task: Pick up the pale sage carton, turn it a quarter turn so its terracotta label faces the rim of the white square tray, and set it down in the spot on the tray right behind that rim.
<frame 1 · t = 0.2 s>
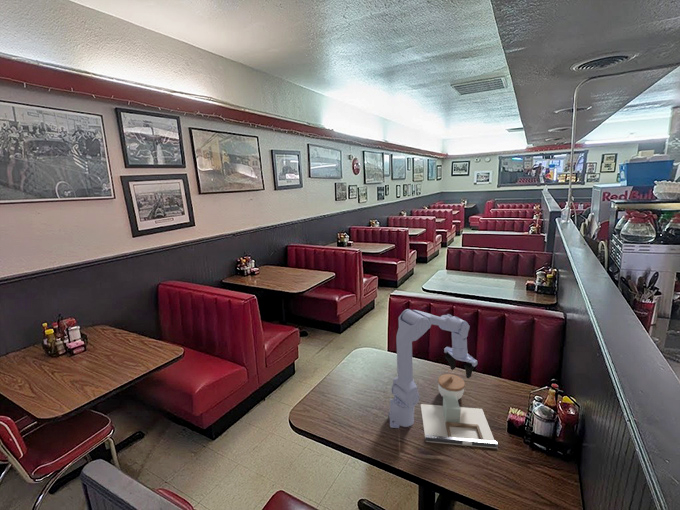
hand: (460, 372, 141), 10 cm above the table, tool pointing down, fingers open, 7 cm apart
lidded jar: (450, 397, 142), on the table
white square tray: (455, 425, 125), on the table
carton: (450, 415, 130), point 1 cm above the table, touching white square tray
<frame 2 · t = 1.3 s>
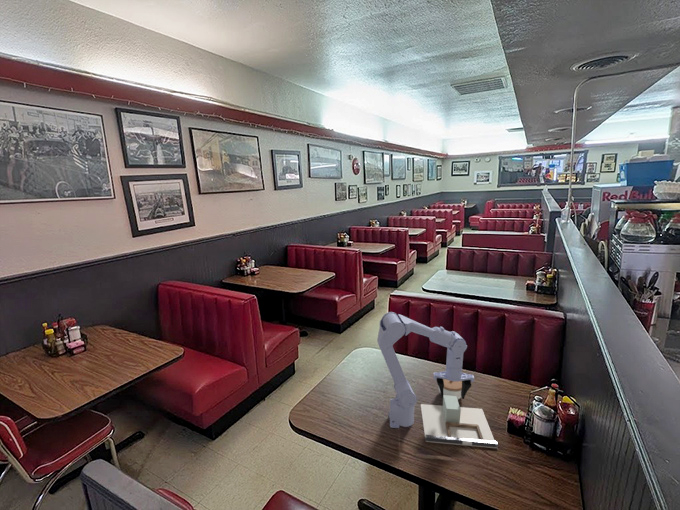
hand: (452, 396, 128), 9 cm above the table, tool pointing down, fingers open, 7 cm apart
nothing on the table moved.
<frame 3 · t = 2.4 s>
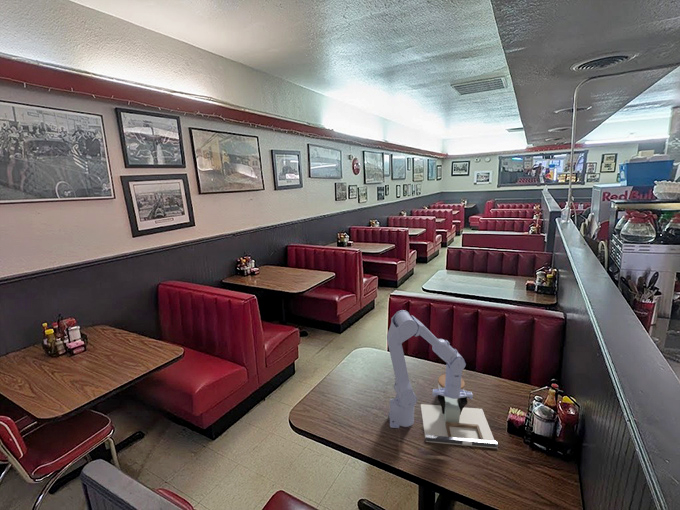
hand: (450, 412, 129), 2 cm above the table, tool pointing down, fingers closed on carton, 5 cm apart
carton: (450, 415, 130), point 1 cm above the table, touching gripper, white square tray
everything else where it was.
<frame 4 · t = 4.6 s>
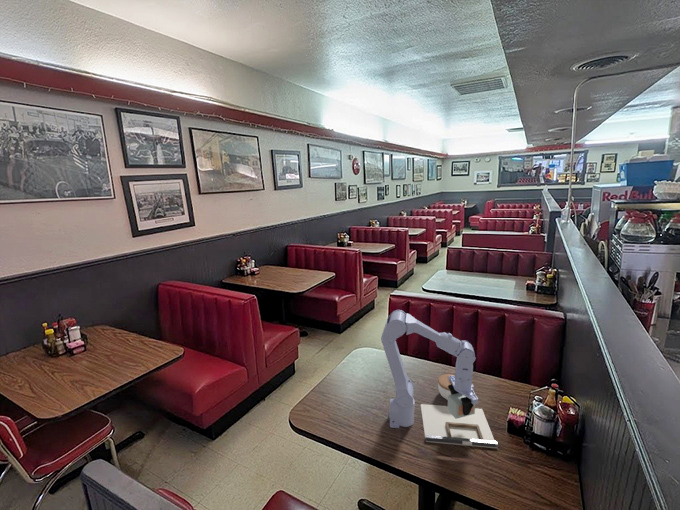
hand: (461, 408, 121), 9 cm above the table, tool pointing down, fingers closed on carton, 5 cm apart
carton: (460, 411, 122), point 8 cm above the table, touching gripper
everything else where it was.
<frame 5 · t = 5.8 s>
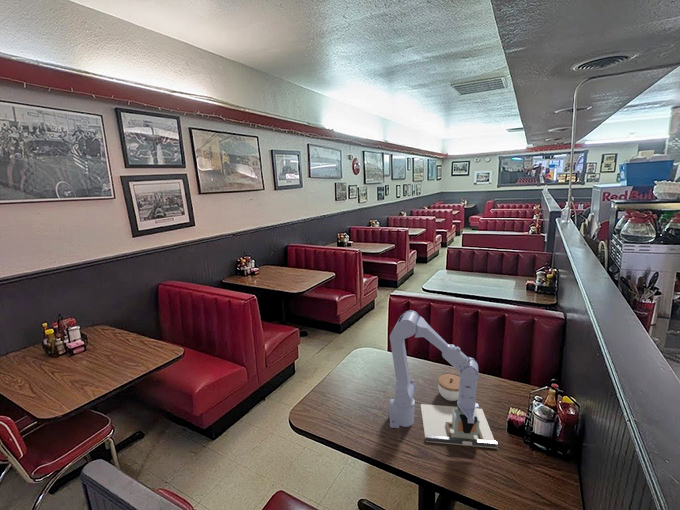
hand: (464, 426, 119), 4 cm above the table, tool pointing down, fingers closed on carton, 5 cm apart
carton: (464, 429, 120), point 3 cm above the table, touching gripper
everything else where it was.
when the fingers open (3 cm above the table, at t = 6.6 s): carton drops 1 cm, resting on white square tray.
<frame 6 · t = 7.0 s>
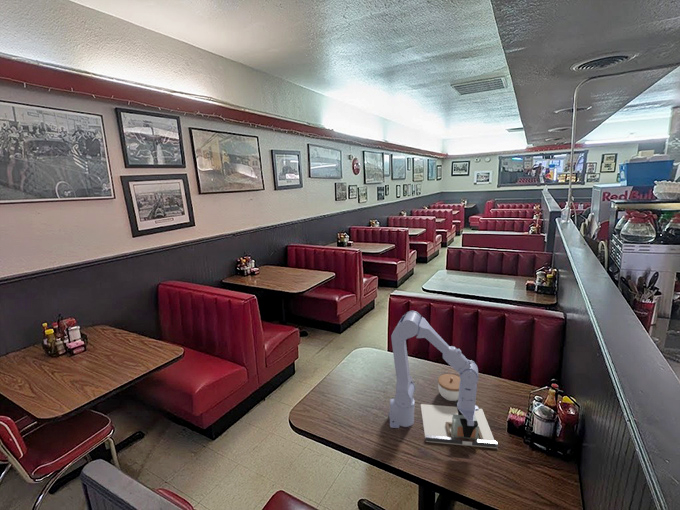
hand: (464, 428, 120), 3 cm above the table, tool pointing down, fingers open, 7 cm apart
carton: (464, 434, 120), point 1 cm above the table, touching white square tray
everything else where it was.
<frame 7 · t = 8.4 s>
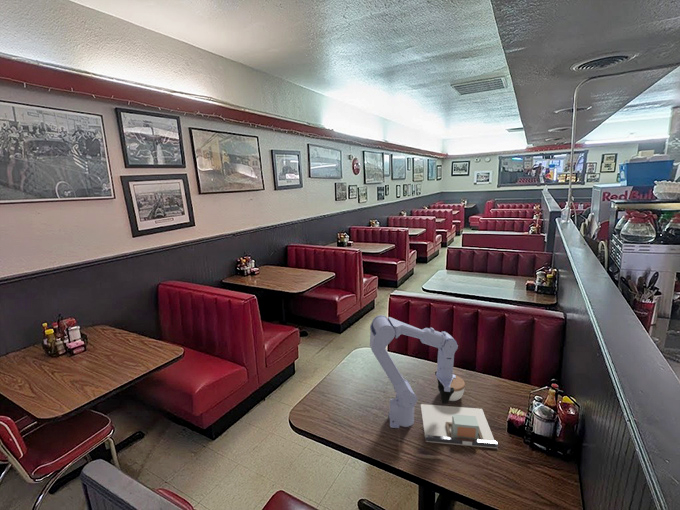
hand: (443, 396, 128), 9 cm above the table, tool pointing down, fingers open, 7 cm apart
nothing on the table moved.
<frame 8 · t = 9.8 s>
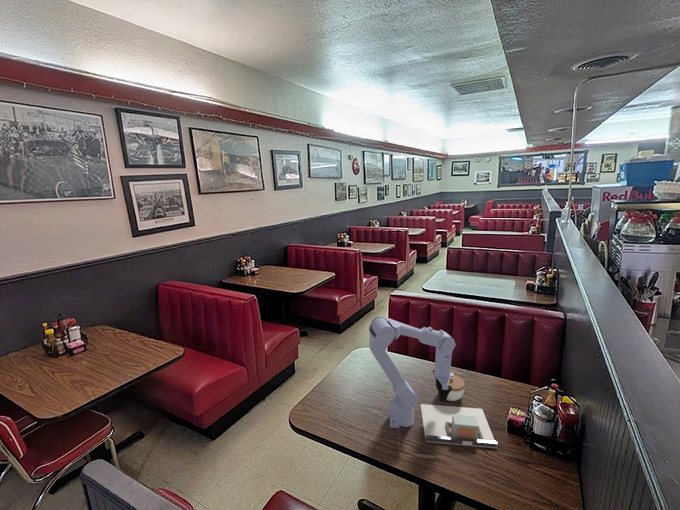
hand: (441, 394, 129), 9 cm above the table, tool pointing down, fingers open, 7 cm apart
nothing on the table moved.
at the end: carton 0.1 cm from the target spot, point 0.8 cm above the table; carton tilted 0°; the gripper is holding nothing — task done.
